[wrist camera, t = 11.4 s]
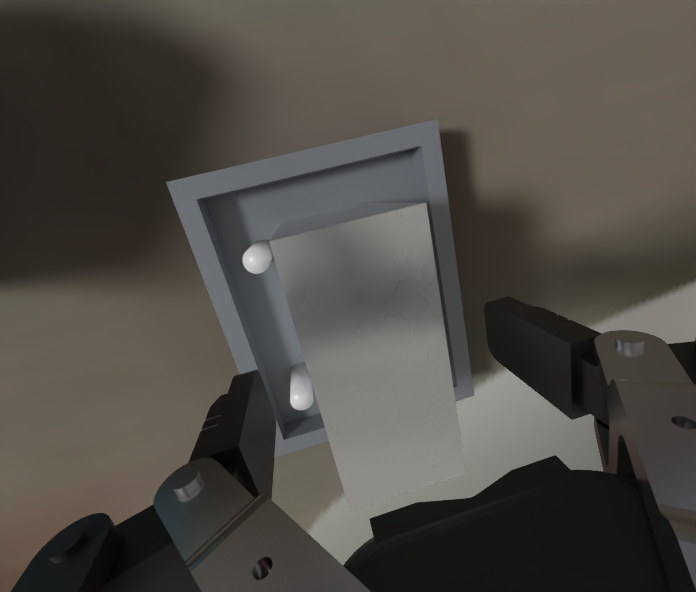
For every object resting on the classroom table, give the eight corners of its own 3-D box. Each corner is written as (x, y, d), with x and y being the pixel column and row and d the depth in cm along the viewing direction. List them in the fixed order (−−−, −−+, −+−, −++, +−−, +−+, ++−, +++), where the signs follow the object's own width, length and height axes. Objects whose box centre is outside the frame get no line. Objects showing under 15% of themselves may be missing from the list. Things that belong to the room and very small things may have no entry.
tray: (185, 185, 17) (152, 179, 13) (417, 130, 18) (451, 110, 14) (274, 428, 22) (270, 478, 18) (454, 374, 23) (487, 409, 19)
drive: (281, 222, 17) (269, 241, 9) (362, 202, 18) (426, 202, 9) (326, 381, 20) (350, 511, 12) (395, 362, 21) (466, 473, 12)
